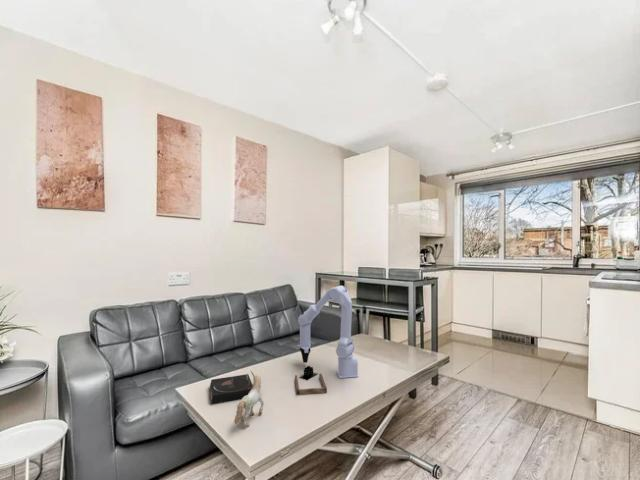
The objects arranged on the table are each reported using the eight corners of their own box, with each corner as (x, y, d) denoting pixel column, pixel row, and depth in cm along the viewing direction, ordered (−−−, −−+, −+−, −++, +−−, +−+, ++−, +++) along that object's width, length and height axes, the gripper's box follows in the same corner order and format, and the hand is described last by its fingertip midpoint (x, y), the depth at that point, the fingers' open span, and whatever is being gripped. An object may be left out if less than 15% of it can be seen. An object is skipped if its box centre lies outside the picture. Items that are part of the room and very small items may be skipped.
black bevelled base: (306, 383, 141) (306, 373, 141) (294, 379, 145) (294, 370, 145) (321, 374, 151) (321, 365, 151) (309, 371, 155) (309, 362, 156)
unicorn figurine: (267, 404, 120) (267, 370, 121) (253, 433, 101) (254, 393, 101) (250, 403, 121) (250, 370, 121) (233, 432, 101) (233, 392, 102)
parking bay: (321, 377, 146) (321, 373, 146) (326, 393, 130) (326, 388, 130) (294, 379, 144) (294, 375, 144) (297, 395, 128) (297, 390, 128)
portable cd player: (209, 388, 135) (209, 379, 135) (248, 382, 142) (248, 374, 142) (211, 406, 120) (211, 395, 120) (253, 398, 126) (253, 388, 126)
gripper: (296, 333, 168) (296, 357, 167) (298, 340, 153) (298, 367, 153) (309, 332, 169) (309, 357, 168) (312, 340, 154) (312, 366, 154)
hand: (305, 362), depth 160 cm, fingers closed
